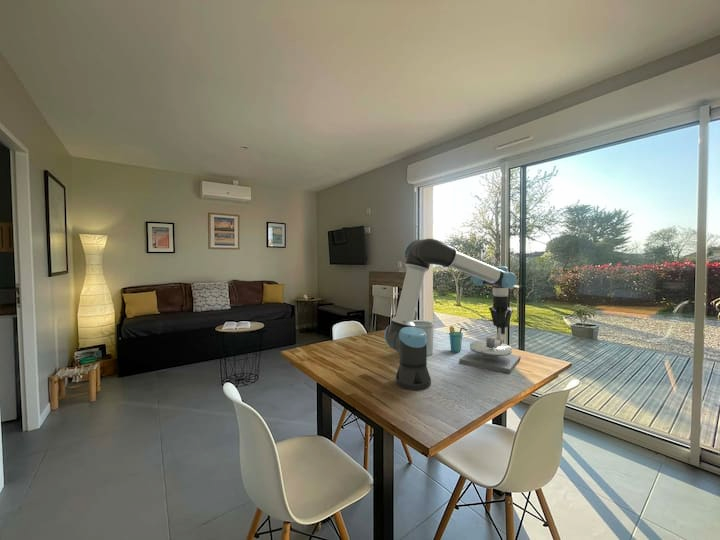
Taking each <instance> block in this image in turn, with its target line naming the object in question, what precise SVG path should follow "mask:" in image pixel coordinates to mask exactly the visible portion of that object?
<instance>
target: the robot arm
mask: <svg viewBox="0 0 720 540" xmlns="http://www.w3.org/2000/svg"><path fill="white" fill-rule="evenodd" d="M403 255H404V259H405V262H404V265H405V268H406V271H405V276H404V281H403V285H402V289H401V293H400V297H399V301H398V305H397V308H396V309H397V310H396V314H395V316H394V317H393V318H391V320H390V324H389V325H388V326H386V328H385V330H384V335H383V336H384V340H385V343H387V344H386V345H388V346H389V347H390V348H391V349H393V350H395V351H396V352H398V353H399V365H398V368H397V372H396V373H395V374H396V376H395V384H396V386H398V387H399V388H402V389H404V390H408V391H422V390H427V389H428V388H430V387H431V386H432V380H431V375H430V372H429V370H428V366H427V363H428V361H427V360H428V359H427V358H428V356H427V338H426V333H425V332H424V331H423V330H422V329H420V328H416V327H415V324H414V322H413V320H414V319H415V315H416V310H417V306H418V302H419V298H420V294H421V289H422V285H423V281H424V277H425V274H426V273H427V272H428V271H429V270H430V267H431V265H436V266H437V265H438V266H442V267H444V268H449V267H450V268H453V269H455V270H456V271H457V270H458V271H460V272H463V273H465V274H467V275H470V276H471V277H472V278H471V279H472V284H474V285H475V286H481V287H482V286H488V287H492V295H493V296H492V302H493V304H492V306H491V307H488V309H489V312H490V315H491V319H492V324H493V326H495V327H496V334H497V333H498V340H502V341H504V339H505V334H506V328H509V326H510V323H511V322H510V321H511V318H512V314H513V313H514V310H513V309H512V308H510V307H509V298H510V297H509V289H511V288H513V287H514V286H516V283H517V275H516V274H515V273H514V272H510V271H509V268H508V267H507V266H505V265H504V266H501V265H500V266H492V265H490V264H488V263H485V262H483V261H481V260H478V259H476V258H473V257H471V256H469V255H466V254H465V253H462V252H459V251H457V249H456V248H455V246H454V247H453V246H451V245H449V244H447V243H444V242H443V241H441V240H437V239H434V238H425V239H414V240H413V241H411V242H408V244H407V245H406V246H405V249H404V252H403Z"/></svg>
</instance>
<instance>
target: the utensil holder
mask: <svg viewBox="0 0 720 540" xmlns="http://www.w3.org/2000/svg"><path fill="white" fill-rule="evenodd" d="M413 322H414V324H415V327H416V328H420V329H422V330H423V331H424V332H425V333H426V338H427V357H428V356H429V357H430V356H432V355H433V352H434V330H435V329H434V328H435V323H434V322H433V321H429V320H424V319H423V320H422V319H416V320H414V319H413Z"/></svg>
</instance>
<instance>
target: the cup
mask: <svg viewBox="0 0 720 540" xmlns="http://www.w3.org/2000/svg"><path fill="white" fill-rule="evenodd" d="M462 330H463V331H468V329H467V328H465V327H461V328H460V329H459V331H456V329H455V327H454V326H453V325H450V326H449V332H448V335H449V343H450V351H451V352H453V353H456V352H457V353H461V352H462V341H463V336H464V334H463V333H462ZM460 351H461V352H460Z"/></svg>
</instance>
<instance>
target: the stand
mask: <svg viewBox="0 0 720 540" xmlns="http://www.w3.org/2000/svg"><path fill="white" fill-rule="evenodd" d="M521 357H522V356H521V355H517V354H512V353H511V354H510V355H506V356H489V355H483V354H479V353H476V352H473V351H472V350H471V349H470V351H468V352H467V353H466V354H464V355H463V356H461V358H459V359H458V360H459V364H463V365H467V366H472V367H477V368H483V369H486V370H487V369H488V370H491V371H497V372H502V373H507V374H511V373H512V372H513V370H514V369H515V368H516V366H517V365H518V363H519V362H520V361H521Z"/></svg>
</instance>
